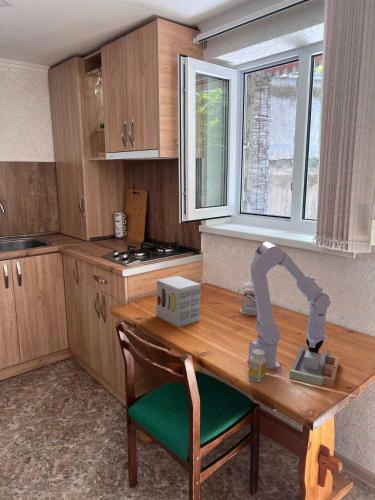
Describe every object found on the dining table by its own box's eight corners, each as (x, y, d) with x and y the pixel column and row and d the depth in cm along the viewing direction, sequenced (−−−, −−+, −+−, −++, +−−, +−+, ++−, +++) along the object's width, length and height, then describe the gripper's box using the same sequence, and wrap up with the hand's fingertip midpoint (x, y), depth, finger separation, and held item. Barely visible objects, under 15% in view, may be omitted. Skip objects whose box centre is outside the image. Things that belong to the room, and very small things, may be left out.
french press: (261, 315, 183) (264, 265, 178) (237, 314, 183) (240, 264, 179) (258, 308, 193) (261, 260, 188) (235, 307, 193) (237, 260, 188)
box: (301, 351, 146) (302, 344, 146) (339, 359, 140) (340, 352, 140) (289, 379, 126) (290, 370, 125) (333, 390, 120) (333, 381, 119)
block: (318, 370, 131) (319, 359, 130) (303, 366, 133) (304, 356, 132) (319, 364, 135) (321, 353, 134) (305, 360, 137) (306, 350, 136)
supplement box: (155, 316, 179) (155, 279, 175) (176, 310, 187) (177, 275, 184) (178, 327, 166) (179, 288, 162) (200, 320, 174) (201, 283, 171)
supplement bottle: (250, 382, 123) (252, 355, 121) (246, 374, 128) (248, 348, 126) (266, 382, 123) (268, 355, 122) (262, 373, 129) (263, 347, 127)
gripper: (325, 332, 127) (322, 369, 129) (330, 318, 139) (327, 352, 142) (304, 328, 130) (301, 364, 132) (310, 315, 142) (307, 348, 145)
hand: (313, 358), depth 137 cm, fingers closed
